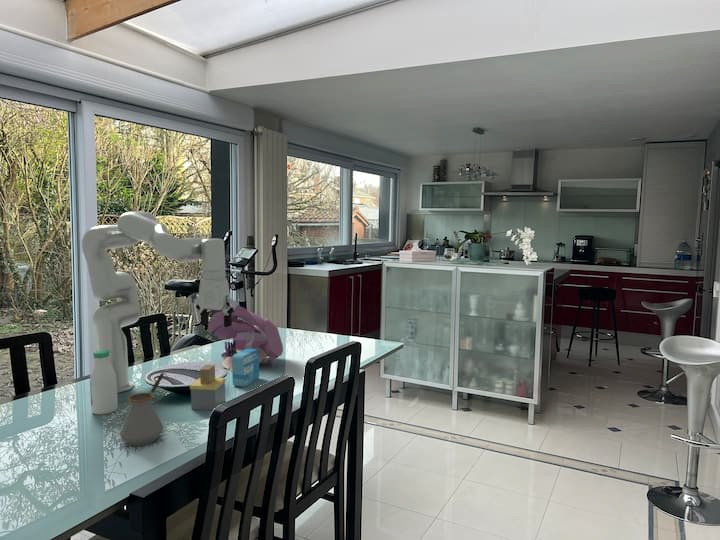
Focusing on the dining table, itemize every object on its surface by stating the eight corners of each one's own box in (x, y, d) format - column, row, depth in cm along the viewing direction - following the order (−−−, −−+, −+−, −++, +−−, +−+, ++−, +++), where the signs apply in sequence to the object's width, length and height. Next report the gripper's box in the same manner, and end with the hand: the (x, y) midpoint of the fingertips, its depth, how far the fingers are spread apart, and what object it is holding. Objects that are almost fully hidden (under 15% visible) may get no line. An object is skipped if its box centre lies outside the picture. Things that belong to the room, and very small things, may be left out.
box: (191, 409, 169) (190, 388, 168) (202, 399, 178) (201, 380, 177) (215, 410, 168) (215, 389, 167) (225, 400, 177) (224, 381, 176)
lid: (189, 391, 168) (189, 370, 168) (201, 383, 177) (200, 362, 176) (215, 393, 167) (214, 371, 167) (225, 384, 176) (225, 363, 175)
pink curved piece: (201, 378, 215) (185, 316, 207) (227, 352, 237) (213, 295, 229) (278, 377, 206) (265, 312, 198) (298, 350, 228) (286, 291, 220)
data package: (242, 388, 189) (242, 356, 188) (232, 386, 191) (231, 355, 189) (259, 378, 200) (258, 348, 199) (249, 377, 202) (248, 347, 200)
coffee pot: (152, 449, 141) (150, 397, 139) (112, 448, 142) (109, 396, 140) (183, 418, 162) (181, 372, 160) (148, 417, 163) (146, 371, 161)
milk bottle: (123, 407, 171) (119, 349, 168) (104, 416, 163) (101, 355, 161) (105, 404, 173) (101, 347, 171) (86, 413, 166) (82, 353, 163)
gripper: (186, 275, 172) (188, 325, 174) (227, 277, 165) (230, 329, 167) (201, 273, 178) (203, 321, 180) (242, 275, 172) (244, 325, 174)
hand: (216, 325), depth 174 cm, fingers open, 9 cm apart
